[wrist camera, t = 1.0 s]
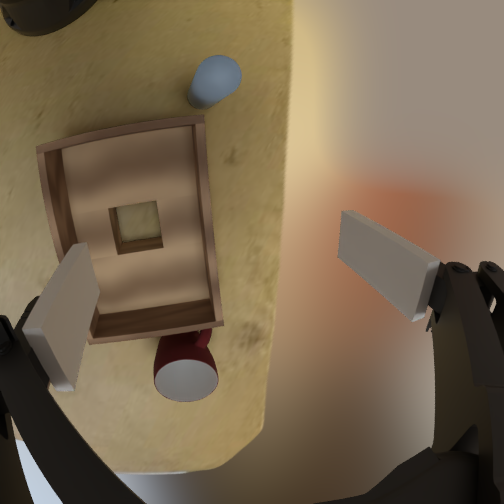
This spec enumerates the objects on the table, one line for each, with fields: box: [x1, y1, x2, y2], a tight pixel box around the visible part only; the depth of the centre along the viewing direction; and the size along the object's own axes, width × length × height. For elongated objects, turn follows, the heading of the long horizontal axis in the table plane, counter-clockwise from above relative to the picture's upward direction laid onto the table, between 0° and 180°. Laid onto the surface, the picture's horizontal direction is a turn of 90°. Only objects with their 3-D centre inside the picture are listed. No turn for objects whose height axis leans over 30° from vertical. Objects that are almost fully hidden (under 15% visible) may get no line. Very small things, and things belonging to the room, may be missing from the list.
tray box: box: [36, 115, 224, 345], centre depth 30 cm, size 22×16×9 cm
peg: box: [187, 55, 242, 109], centre depth 25 cm, size 4×4×12 cm
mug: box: [154, 328, 218, 402], centre depth 37 cm, size 10×8×10 cm
